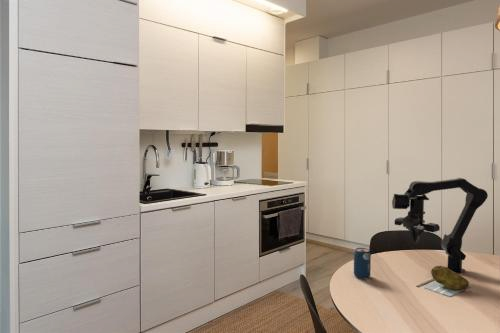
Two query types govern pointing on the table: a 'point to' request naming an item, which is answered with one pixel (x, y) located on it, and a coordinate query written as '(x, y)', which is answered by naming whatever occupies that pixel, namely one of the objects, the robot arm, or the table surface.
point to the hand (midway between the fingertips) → (415, 242)
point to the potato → (449, 278)
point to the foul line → (425, 282)
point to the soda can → (362, 263)
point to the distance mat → (442, 289)
